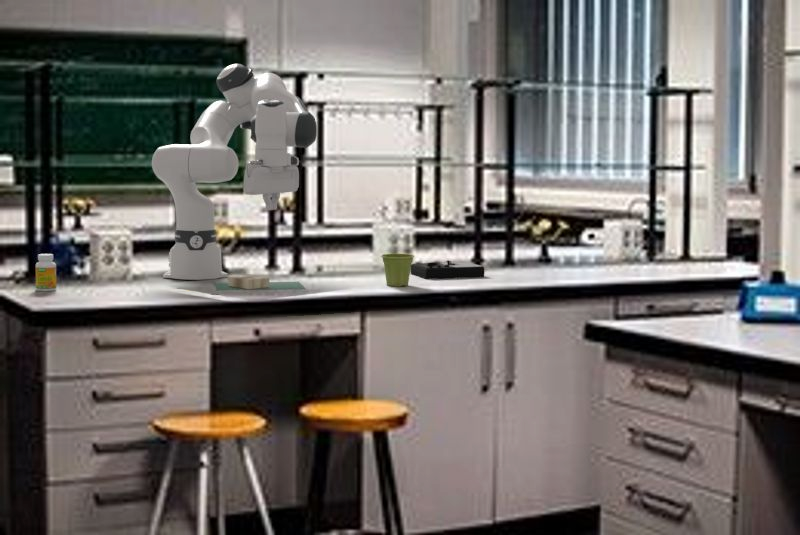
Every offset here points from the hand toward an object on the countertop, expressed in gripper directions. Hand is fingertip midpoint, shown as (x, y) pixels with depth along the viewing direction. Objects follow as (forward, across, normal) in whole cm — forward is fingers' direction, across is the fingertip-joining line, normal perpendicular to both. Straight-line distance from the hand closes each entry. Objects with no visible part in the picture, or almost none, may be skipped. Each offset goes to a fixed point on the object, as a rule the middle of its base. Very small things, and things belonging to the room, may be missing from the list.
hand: (271, 209), depth 357 cm
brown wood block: (+19, -5, +1) cm, 20 cm away
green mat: (+22, -4, +1) cm, 22 cm away
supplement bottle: (+22, -40, +46) cm, 65 cm away
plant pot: (+22, +28, -24) cm, 43 cm away
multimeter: (+23, +56, -23) cm, 65 cm away
